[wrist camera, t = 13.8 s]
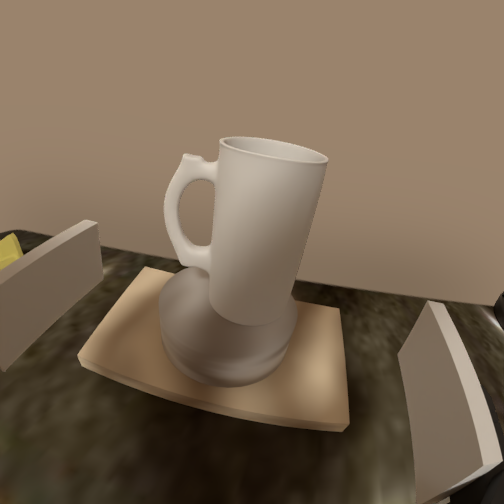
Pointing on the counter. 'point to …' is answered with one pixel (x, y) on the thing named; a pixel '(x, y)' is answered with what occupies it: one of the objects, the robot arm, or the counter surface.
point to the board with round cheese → (223, 354)
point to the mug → (250, 223)
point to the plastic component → (9, 250)
